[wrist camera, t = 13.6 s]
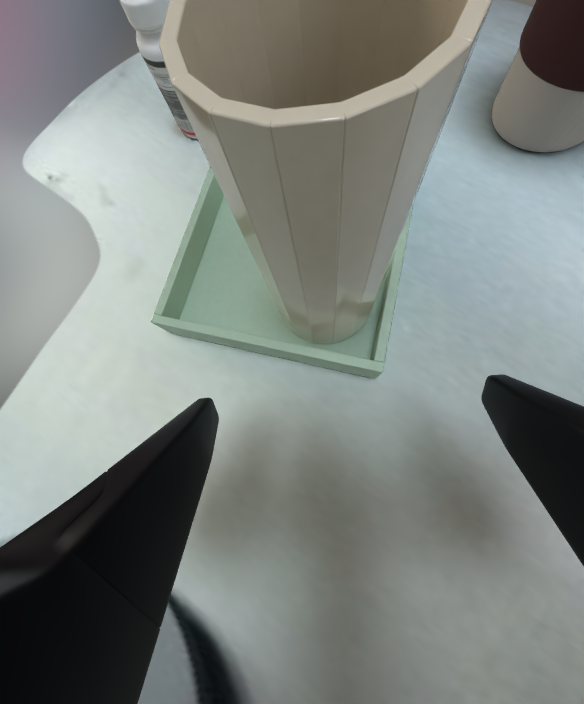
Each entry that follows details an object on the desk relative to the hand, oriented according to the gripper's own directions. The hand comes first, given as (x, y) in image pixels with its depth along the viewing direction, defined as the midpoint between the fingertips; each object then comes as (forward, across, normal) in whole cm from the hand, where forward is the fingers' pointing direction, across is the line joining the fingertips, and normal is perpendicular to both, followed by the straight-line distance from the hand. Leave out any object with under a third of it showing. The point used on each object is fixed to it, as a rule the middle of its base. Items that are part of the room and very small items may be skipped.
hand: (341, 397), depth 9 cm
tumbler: (+11, 0, 0) cm, 11 cm away
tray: (+15, +2, -2) cm, 15 cm away
